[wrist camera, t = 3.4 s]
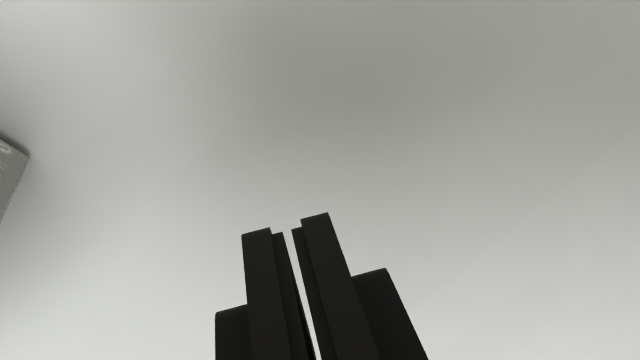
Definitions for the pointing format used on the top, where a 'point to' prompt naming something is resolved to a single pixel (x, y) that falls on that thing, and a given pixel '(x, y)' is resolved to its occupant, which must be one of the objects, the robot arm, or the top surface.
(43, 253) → the top surface
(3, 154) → the skincare box
